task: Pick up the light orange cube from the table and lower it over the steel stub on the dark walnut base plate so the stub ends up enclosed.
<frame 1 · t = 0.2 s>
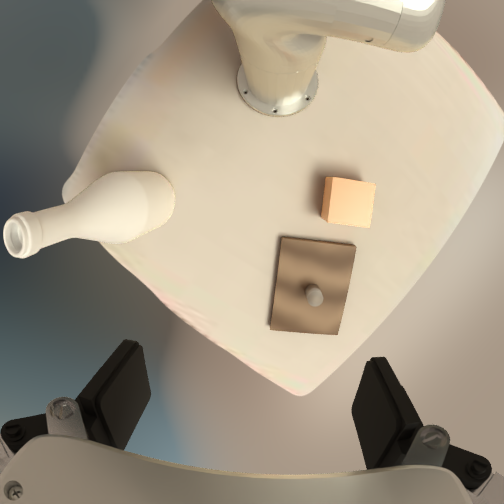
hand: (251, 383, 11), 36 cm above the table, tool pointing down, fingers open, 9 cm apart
wine bottle: (151, 199, 46), on the table
light orange cube: (342, 199, 44), on the table
base plate: (311, 287, 48), on the table
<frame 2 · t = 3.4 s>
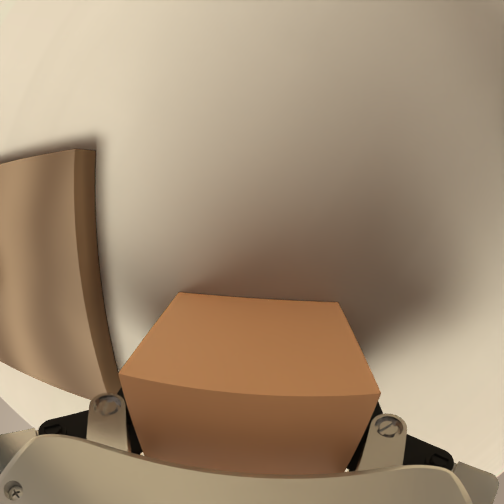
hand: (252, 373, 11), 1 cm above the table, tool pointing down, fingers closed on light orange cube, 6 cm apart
light orange cube: (254, 363, 12), on the table, touching gripper
base plate: (2, 271, 12), on the table
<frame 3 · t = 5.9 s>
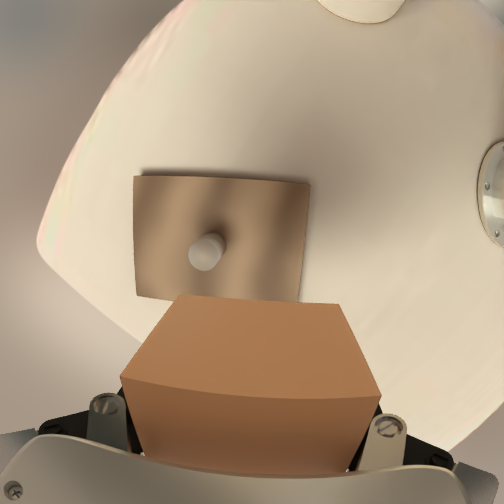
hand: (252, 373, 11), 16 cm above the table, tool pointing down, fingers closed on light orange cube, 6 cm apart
light orange cube: (254, 365, 12), point 16 cm above the table, touching gripper
base plate: (216, 241, 27), on the table
when the fingers open (3 cm above the table, at t = 8.7 s): light orange cube drops 1 cm, resting on base plate.
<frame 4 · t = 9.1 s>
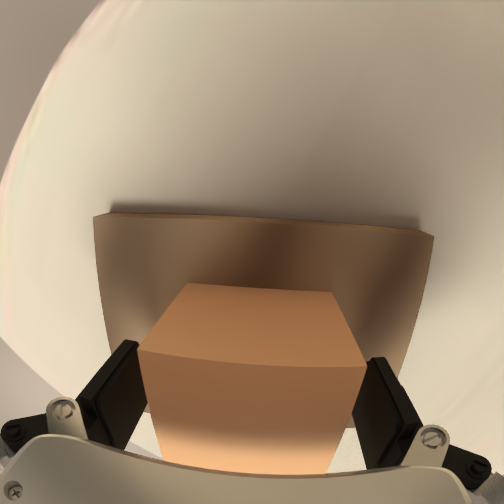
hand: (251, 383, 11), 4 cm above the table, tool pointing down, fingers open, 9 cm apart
light orange cube: (255, 349, 13), point 1 cm above the table, touching base plate
base plate: (256, 333, 15), on the table
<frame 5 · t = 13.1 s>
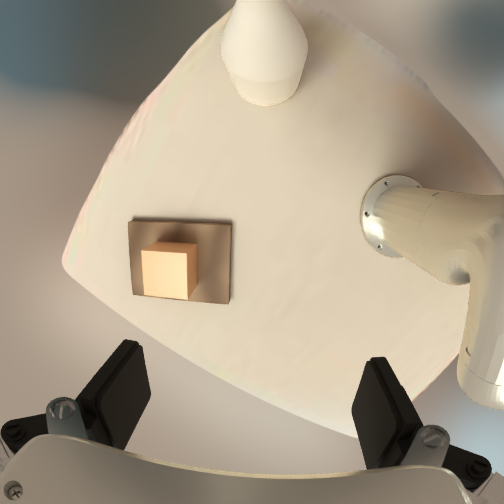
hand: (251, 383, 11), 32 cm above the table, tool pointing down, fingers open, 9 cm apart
wine bottle: (266, 78, 36), on the table
light orange cube: (176, 263, 42), point 1 cm above the table, touching base plate
base plate: (179, 260, 44), on the table
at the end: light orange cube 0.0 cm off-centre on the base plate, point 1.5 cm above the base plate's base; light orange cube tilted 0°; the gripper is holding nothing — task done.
